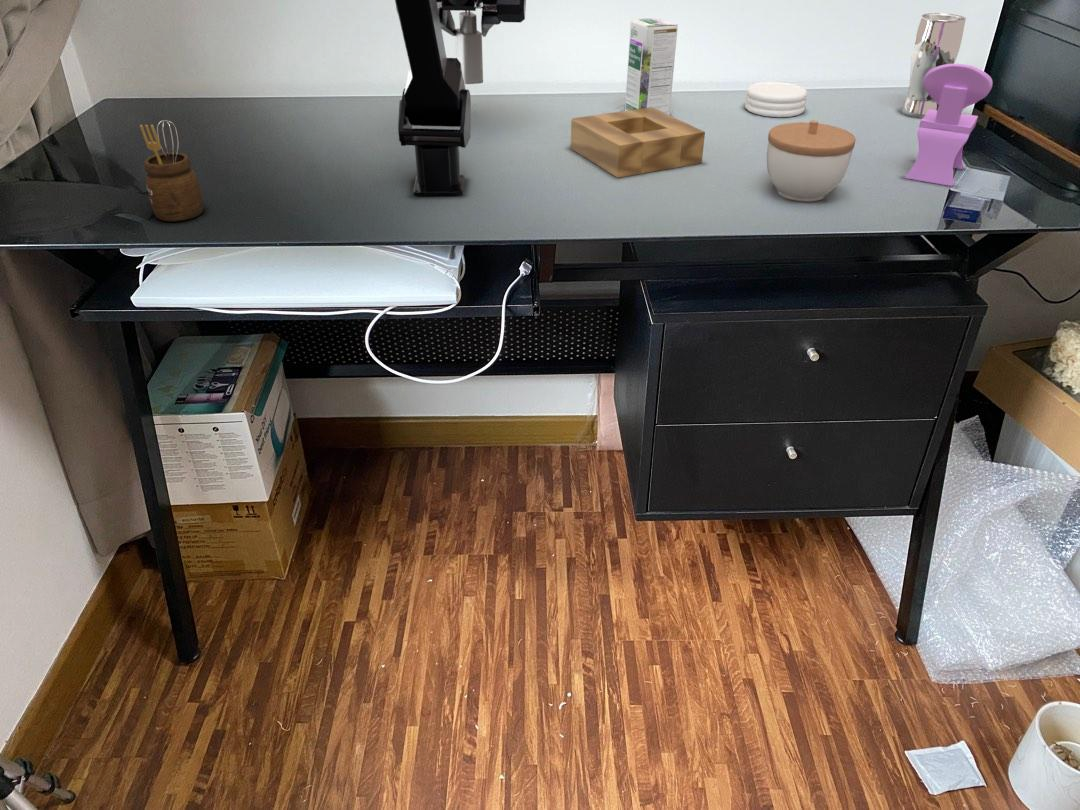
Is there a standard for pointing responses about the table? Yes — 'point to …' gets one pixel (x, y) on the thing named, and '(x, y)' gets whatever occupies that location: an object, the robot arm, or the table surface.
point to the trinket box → (808, 159)
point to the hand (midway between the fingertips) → (469, 33)
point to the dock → (636, 141)
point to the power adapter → (469, 48)
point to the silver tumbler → (931, 57)
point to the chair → (947, 121)
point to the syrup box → (650, 64)
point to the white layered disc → (775, 99)
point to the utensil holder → (171, 182)
